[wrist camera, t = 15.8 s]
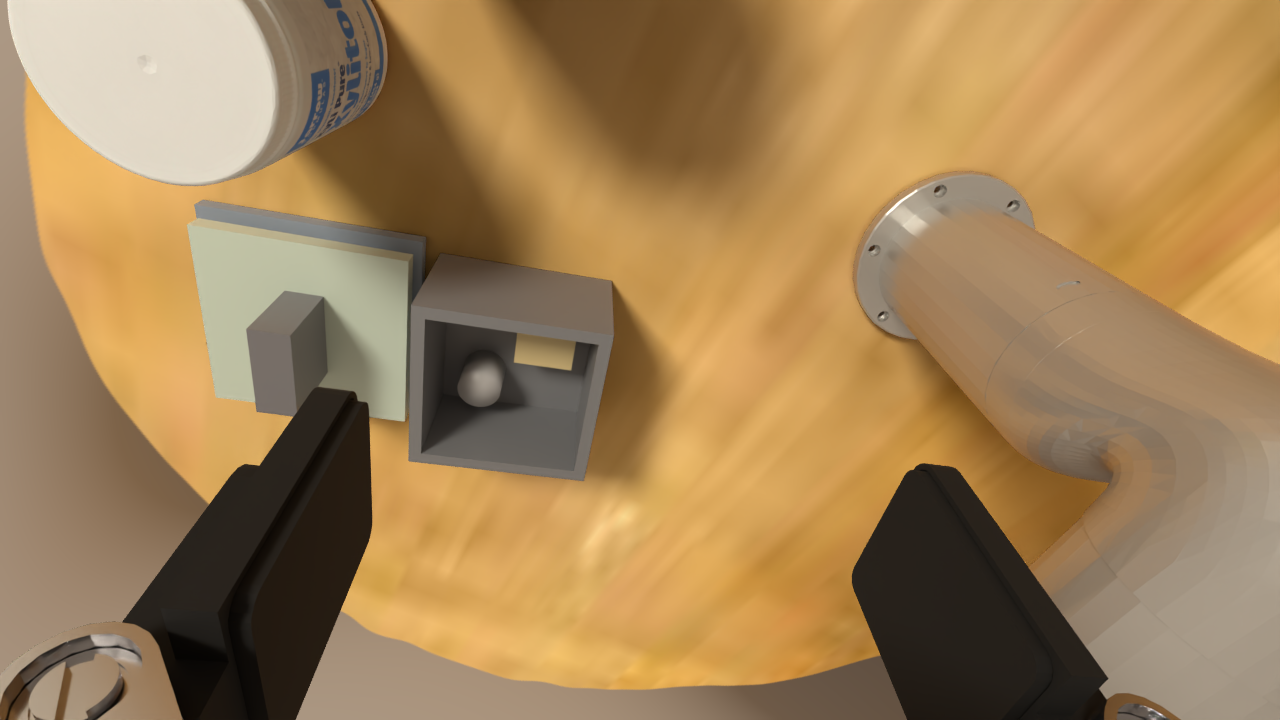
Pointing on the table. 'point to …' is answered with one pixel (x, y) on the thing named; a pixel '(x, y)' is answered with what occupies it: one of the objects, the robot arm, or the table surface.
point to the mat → (322, 232)
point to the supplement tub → (201, 77)
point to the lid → (303, 317)
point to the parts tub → (507, 367)
